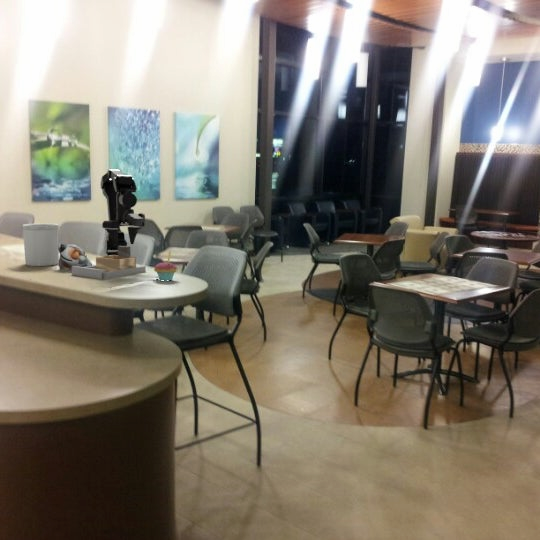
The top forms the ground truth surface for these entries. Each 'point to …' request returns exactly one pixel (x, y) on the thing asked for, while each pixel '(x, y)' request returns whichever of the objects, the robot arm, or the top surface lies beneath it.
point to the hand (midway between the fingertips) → (124, 245)
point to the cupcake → (165, 270)
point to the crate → (116, 260)
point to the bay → (102, 274)
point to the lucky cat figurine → (72, 257)
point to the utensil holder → (41, 244)
